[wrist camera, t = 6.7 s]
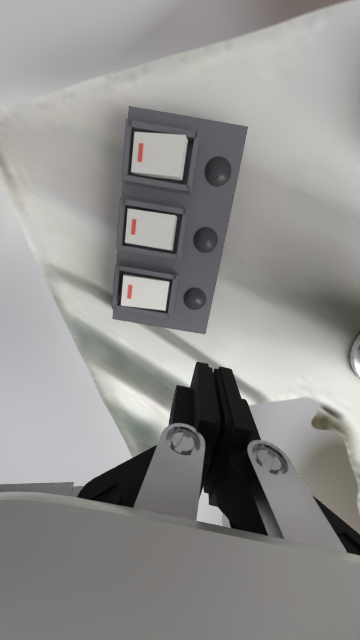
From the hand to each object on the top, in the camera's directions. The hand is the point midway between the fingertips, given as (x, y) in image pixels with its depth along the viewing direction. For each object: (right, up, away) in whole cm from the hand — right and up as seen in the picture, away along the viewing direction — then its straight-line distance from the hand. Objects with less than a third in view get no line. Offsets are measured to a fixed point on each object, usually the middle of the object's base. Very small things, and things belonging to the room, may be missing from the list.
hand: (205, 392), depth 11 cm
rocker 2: (-6, +7, +20) cm, 22 cm away
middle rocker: (-5, +15, +18) cm, 24 cm away
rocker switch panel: (-2, +16, +23) cm, 28 cm away
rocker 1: (-4, +22, +16) cm, 28 cm away
